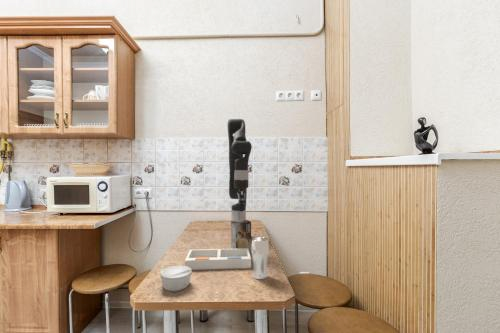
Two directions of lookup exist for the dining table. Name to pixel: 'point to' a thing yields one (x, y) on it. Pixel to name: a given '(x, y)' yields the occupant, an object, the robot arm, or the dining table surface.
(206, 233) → the dining table surface
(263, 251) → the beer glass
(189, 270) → the ramekin
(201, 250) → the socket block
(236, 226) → the coffee box
